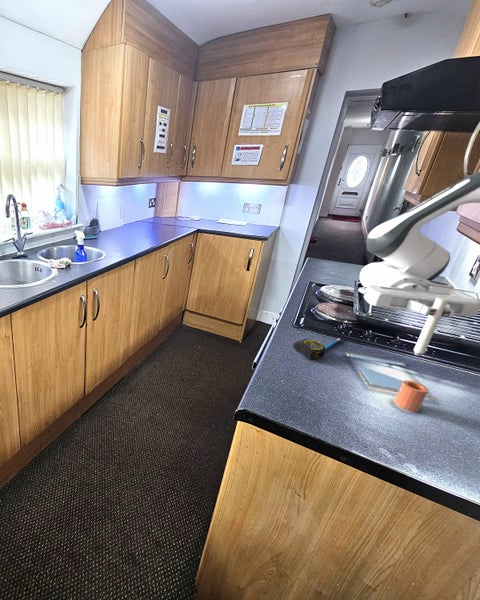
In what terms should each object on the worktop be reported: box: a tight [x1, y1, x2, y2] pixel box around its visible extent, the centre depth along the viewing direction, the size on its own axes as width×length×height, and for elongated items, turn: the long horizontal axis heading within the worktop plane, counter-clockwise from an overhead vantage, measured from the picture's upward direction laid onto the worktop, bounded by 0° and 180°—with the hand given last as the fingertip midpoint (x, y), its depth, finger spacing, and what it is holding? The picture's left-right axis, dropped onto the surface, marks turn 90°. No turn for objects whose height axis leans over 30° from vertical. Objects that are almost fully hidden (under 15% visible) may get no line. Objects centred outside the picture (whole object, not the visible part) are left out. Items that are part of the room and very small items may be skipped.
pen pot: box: [393, 380, 430, 413], centre depth 77 cm, size 4×4×6 cm
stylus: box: [413, 297, 448, 357], centre depth 74 cm, size 2×2×14 cm
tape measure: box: [292, 338, 326, 361], centre depth 98 cm, size 7×7×4 cm
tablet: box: [344, 352, 439, 401], centre depth 90 cm, size 14×18×1 cm
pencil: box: [324, 337, 342, 351], centre depth 103 cm, size 1×17×1 cm, turn 123°
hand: (439, 313), depth 71 cm, fingers closed on stylus, 2 cm apart
